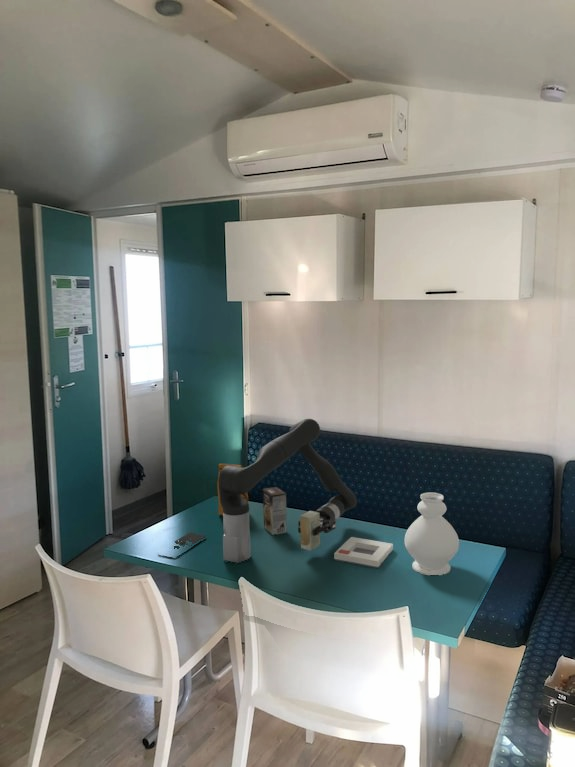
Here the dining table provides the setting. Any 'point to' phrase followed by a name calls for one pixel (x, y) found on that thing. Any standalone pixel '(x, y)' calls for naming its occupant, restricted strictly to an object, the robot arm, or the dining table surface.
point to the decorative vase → (431, 537)
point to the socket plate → (363, 552)
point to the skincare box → (309, 530)
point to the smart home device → (187, 537)
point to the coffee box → (274, 510)
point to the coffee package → (218, 487)
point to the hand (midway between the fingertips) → (306, 531)
